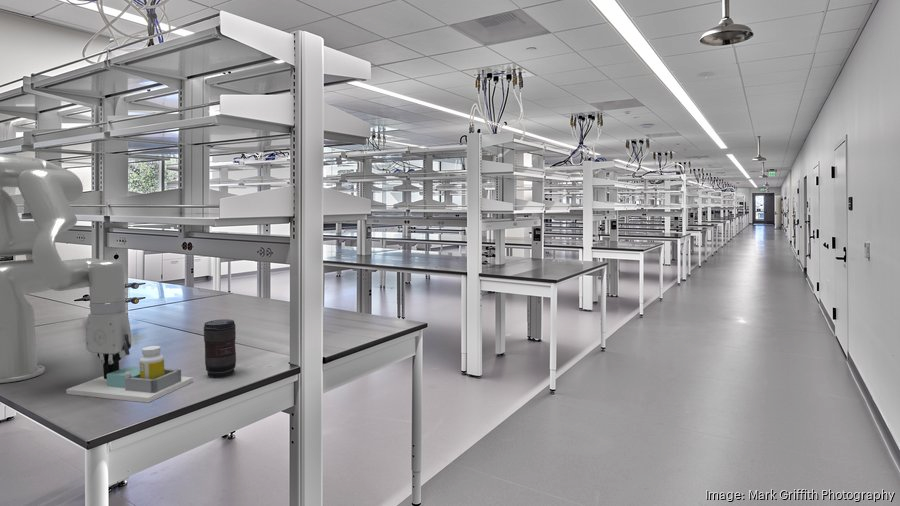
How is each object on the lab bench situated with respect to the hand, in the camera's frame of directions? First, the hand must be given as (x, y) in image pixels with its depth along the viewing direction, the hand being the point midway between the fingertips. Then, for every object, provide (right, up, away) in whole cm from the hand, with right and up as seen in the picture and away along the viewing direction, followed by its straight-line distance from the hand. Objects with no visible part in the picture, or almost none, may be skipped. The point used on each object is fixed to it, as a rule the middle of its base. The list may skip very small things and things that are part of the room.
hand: (111, 377), depth 131 cm
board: (+6, -2, -1) cm, 7 cm away
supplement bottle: (+12, -2, -3) cm, 13 cm away
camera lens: (+24, -2, +10) cm, 26 cm away
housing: (+6, -1, -1) cm, 6 cm away
